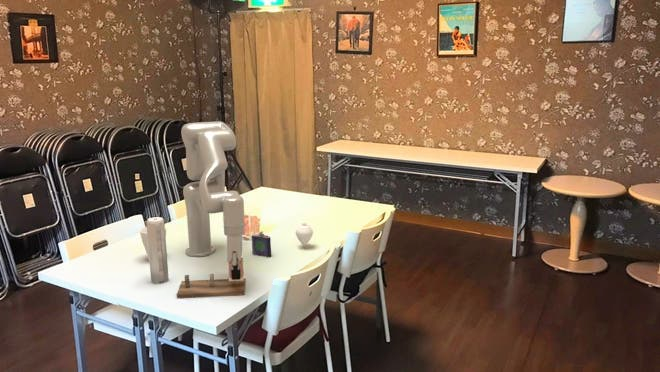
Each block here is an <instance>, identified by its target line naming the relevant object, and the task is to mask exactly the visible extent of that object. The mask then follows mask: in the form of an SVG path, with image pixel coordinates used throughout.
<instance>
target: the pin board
mask: <svg viewBox="0 0 660 372" xmlns="http://www.w3.org/2000/svg"><path fill="white" fill-rule="evenodd" d="M246 281H247V280H246V277H244V280H243V281H229V278H221V279H220V278H219V279H215V274H214V273H210V274H209V279H198V280H196V279H195V280H194V279H193V280H190V275H189V274H185V275H184V280H181V281H180V284H179V288H178V290H177V293H176V299H190V298H191V299H192V298H194V299H195V298H207V297H208V298H212V297H214V298H215V297H229V296H232V297H233V296H244V295H246V293H245V292H246Z"/></svg>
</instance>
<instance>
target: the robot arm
mask: <svg viewBox="0 0 660 372" xmlns="http://www.w3.org/2000/svg"><path fill="white" fill-rule="evenodd" d="M180 133H181V139H182V141H183V144H184V147H185V155H186V156H185V158H186V159H185V160H186V162H185V166H186V175H187V178H188V179H189V180H191V181H194V182H189V183H187V184H186V185H185V186H184V187H183V190H182V194H183V198H184V203H185V211H186V218H187V219H186V220H187V223H186V224H187V235H188V248H186V249H185V254H186V255H187V256H189V257H193V258H194V257H196V258H197V257H198V258H199V257H201V258H202V257H207V256H211V255H213V254H214V253H215V251H216V248H215V246H213V245H212V240H211V239H212V238H211V221H210V216H211V215H210V214H218V213H222V219H223V220H222V221H223V234H224V236H226V252H227V253H226V254H227V255H226V256H227V258H226V261H227V262H228V263H229V262H231V263H232V269H231V275H232V280H239V279H241V276H240V269H239V262H240V261H241V258H242V254H243V235H245V234H246V228H245V227H246V226H245V225H246V223H245V222H246V221H245V200H244V198H243V197H242V196H241V194H239V192H238V191H237V190H227V191H226V186H225V185H226V184H225V183H226V182H225V181H226V180H225V179H226V178H225V177H226V173H225V171H226V169H227V168H228V165H229V164H228V161H227V157H226V154H225V152H226V151H232V150H234V149H236V146H237V137H236V135H235V133H234V131H233V130H232V128H231V127H229V126H228V125H227V124H226V123H225V122H223V121H202V122H199V121H198V122H190V123H186V124H183V126H182V127H181V132H180ZM237 259H238V261H237ZM237 263H238V264H237Z"/></svg>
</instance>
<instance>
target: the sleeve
mask: <svg viewBox="0 0 660 372" xmlns="http://www.w3.org/2000/svg"><path fill="white" fill-rule="evenodd" d="M237 261H238V259H237ZM237 264H238V263H237ZM231 269H232V263H231V262H228V279H229V281H243V280H244V278H245V271H244V257H241V261H240V262H239V269H240V276H241V279H239V280H232V275H231Z"/></svg>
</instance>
